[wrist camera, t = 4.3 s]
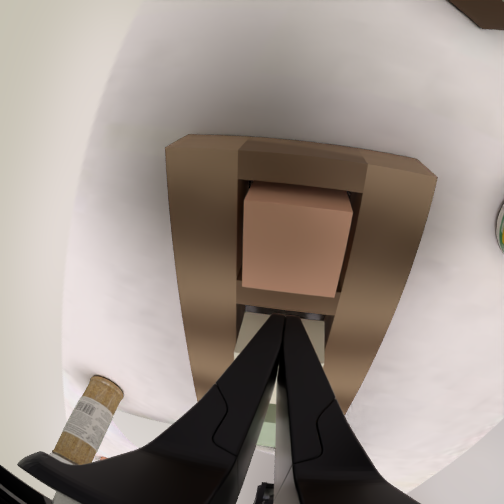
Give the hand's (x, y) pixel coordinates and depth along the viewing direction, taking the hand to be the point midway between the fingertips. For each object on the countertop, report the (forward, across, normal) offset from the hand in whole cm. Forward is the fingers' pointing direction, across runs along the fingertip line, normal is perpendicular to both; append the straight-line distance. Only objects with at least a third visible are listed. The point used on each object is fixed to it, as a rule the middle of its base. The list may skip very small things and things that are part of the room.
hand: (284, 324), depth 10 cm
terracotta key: (+8, 0, 0) cm, 8 cm away
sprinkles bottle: (+9, +19, +24) cm, 32 cm away
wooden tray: (+9, 0, +7) cm, 11 cm away
